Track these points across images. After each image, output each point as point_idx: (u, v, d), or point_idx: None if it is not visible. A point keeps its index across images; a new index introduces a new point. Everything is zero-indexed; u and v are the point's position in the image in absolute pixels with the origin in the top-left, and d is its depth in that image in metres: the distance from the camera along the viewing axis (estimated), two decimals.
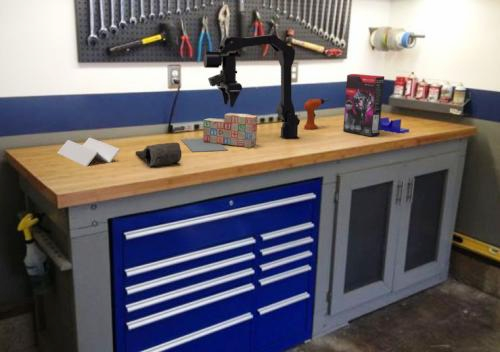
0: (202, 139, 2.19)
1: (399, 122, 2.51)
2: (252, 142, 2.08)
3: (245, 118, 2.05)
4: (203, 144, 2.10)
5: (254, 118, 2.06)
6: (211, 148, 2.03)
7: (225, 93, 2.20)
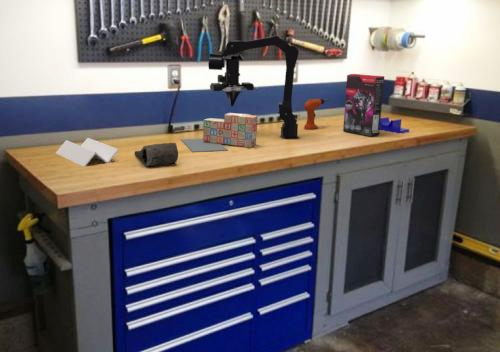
0: (202, 139, 2.19)
1: (399, 122, 2.51)
2: (252, 142, 2.08)
3: (245, 118, 2.05)
4: (203, 144, 2.10)
5: (254, 118, 2.06)
6: (211, 148, 2.03)
7: None
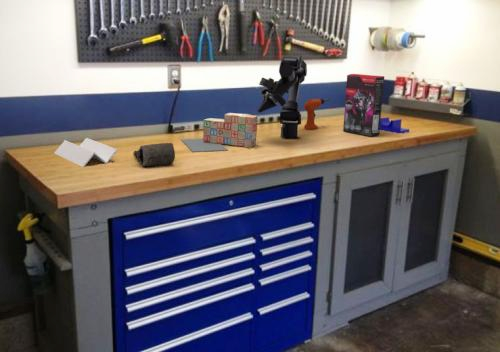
0: (202, 139, 2.19)
1: (399, 122, 2.51)
2: (252, 142, 2.08)
3: (245, 118, 2.05)
4: (203, 144, 2.10)
5: (254, 118, 2.06)
6: (211, 148, 2.03)
7: None
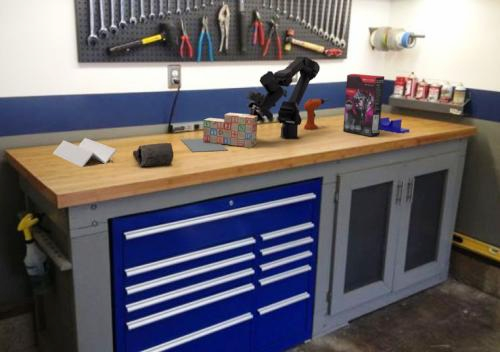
0: (202, 139, 2.19)
1: (399, 122, 2.51)
2: (252, 142, 2.08)
3: (245, 118, 2.05)
4: (203, 144, 2.10)
5: (254, 118, 2.06)
6: (211, 148, 2.03)
7: None
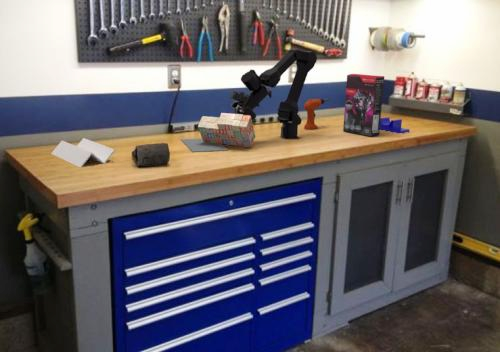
0: None
1: (400, 122, 2.51)
2: (251, 142, 2.06)
3: (239, 127, 1.99)
4: (203, 144, 2.10)
5: (248, 123, 2.00)
6: (211, 148, 2.03)
7: None
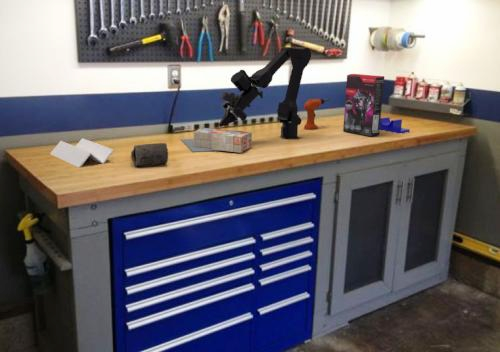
0: None
1: (400, 122, 2.51)
2: (249, 144, 2.05)
3: (233, 151, 1.97)
4: None
5: (241, 146, 1.96)
6: (211, 148, 2.03)
7: None
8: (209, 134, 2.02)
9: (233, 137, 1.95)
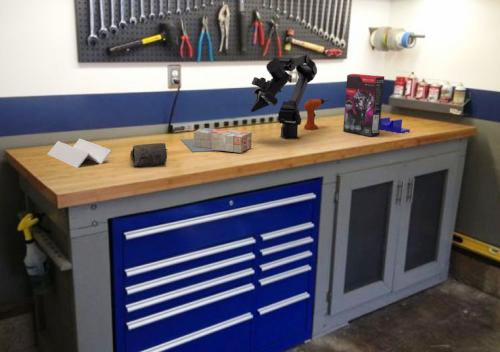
0: None
1: (400, 122, 2.51)
2: (249, 144, 2.05)
3: (233, 151, 1.97)
4: None
5: (241, 146, 1.96)
6: (211, 148, 2.03)
7: None
8: (209, 134, 2.02)
9: (233, 137, 1.95)
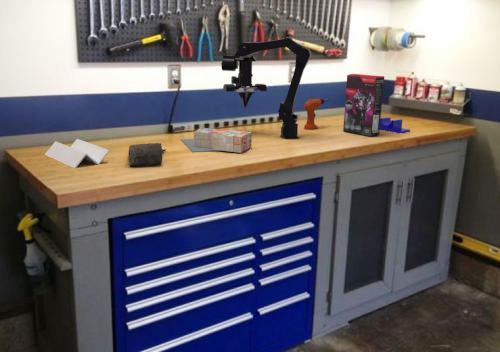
0: None
1: (400, 122, 2.51)
2: (249, 144, 2.05)
3: (233, 151, 1.97)
4: None
5: (241, 146, 1.96)
6: (211, 148, 2.03)
7: (245, 96, 2.29)
8: (209, 134, 2.02)
9: (233, 137, 1.95)
